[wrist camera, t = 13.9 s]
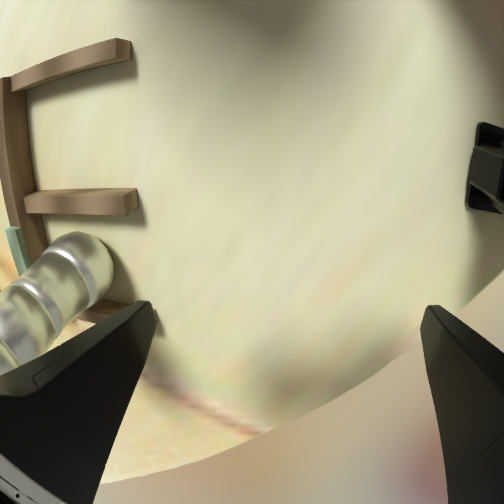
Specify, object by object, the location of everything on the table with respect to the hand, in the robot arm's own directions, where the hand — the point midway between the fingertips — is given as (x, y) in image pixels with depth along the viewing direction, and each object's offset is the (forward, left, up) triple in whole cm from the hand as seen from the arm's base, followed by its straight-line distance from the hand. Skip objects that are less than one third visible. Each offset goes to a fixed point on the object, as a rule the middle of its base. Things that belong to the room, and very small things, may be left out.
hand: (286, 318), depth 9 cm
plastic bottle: (+18, +6, -13) cm, 23 cm away
